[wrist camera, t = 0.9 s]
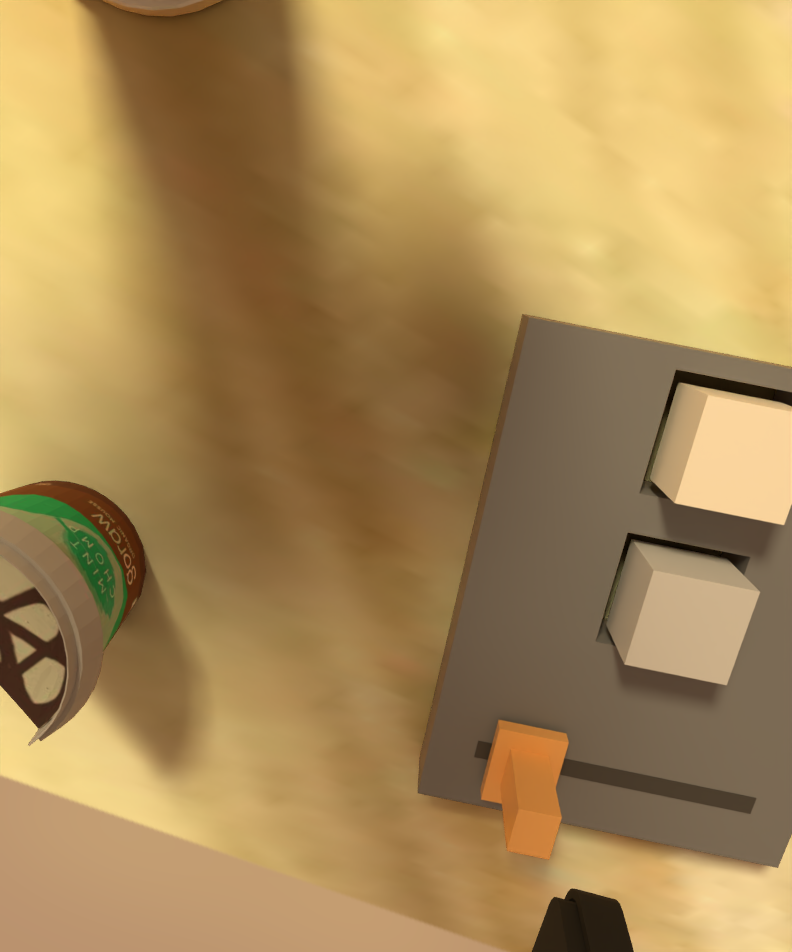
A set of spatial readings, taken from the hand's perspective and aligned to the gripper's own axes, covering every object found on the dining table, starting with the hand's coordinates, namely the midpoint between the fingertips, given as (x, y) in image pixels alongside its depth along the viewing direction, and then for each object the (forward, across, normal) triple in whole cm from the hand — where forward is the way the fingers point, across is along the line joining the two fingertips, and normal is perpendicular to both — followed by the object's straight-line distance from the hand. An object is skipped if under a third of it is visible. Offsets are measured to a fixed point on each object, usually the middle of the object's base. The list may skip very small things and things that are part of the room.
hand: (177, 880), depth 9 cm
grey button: (+28, -16, +4) cm, 32 cm away
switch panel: (+30, -16, +5) cm, 34 cm away
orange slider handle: (+27, -11, +14) cm, 32 cm away
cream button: (+28, -15, -4) cm, 32 cm away
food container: (+30, +14, +9) cm, 34 cm away
